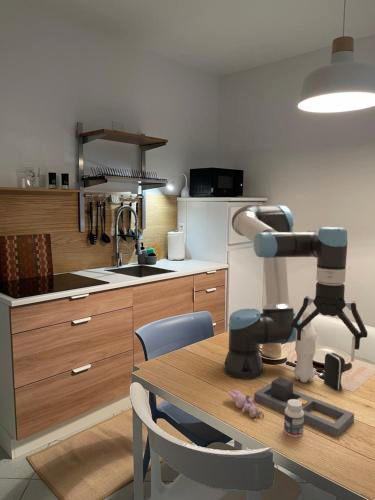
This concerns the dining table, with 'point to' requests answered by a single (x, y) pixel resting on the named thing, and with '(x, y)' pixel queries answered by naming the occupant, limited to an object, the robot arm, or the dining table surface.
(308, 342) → the water bottle
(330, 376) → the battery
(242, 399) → the rabbit figure
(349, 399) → the dining table surface
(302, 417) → the pill bottle
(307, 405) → the gray rectangular open frame
